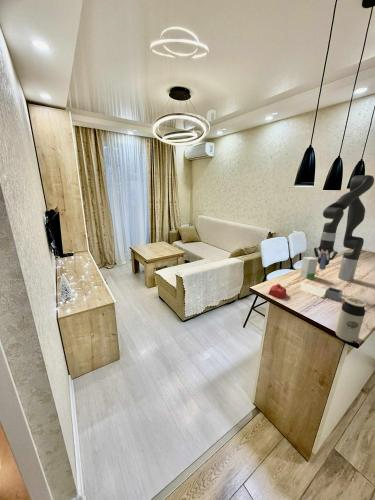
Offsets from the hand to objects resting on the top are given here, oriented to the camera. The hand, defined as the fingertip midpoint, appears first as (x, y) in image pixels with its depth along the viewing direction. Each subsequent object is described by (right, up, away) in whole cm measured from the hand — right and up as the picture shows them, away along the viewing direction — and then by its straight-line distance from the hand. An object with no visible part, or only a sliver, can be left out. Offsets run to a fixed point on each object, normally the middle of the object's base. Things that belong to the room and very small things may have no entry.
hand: (322, 264), depth 138 cm
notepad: (-8, -18, 0) cm, 19 cm away
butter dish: (-34, -20, -8) cm, 40 cm away
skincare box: (+2, -12, +22) cm, 25 cm away
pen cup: (0, -20, -9) cm, 22 cm away
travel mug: (-18, -30, -44) cm, 56 cm away
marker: (0, -3, +1) cm, 3 cm away
